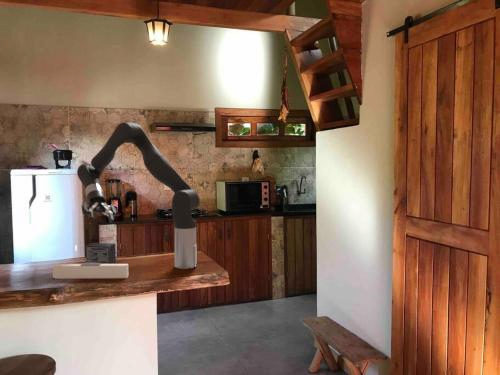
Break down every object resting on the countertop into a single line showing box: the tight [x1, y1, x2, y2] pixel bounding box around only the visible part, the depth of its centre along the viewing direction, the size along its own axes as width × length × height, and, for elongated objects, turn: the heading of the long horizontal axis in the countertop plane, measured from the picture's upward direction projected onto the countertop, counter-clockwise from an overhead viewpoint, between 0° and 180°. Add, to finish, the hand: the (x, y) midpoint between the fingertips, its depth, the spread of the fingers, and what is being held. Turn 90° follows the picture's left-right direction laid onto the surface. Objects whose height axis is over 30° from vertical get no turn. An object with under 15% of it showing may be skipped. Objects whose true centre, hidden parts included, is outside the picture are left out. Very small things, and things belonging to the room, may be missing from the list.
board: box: [52, 262, 130, 280], centre depth 152 cm, size 28×3×5 cm, turn 94°
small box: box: [85, 242, 117, 264], centre depth 165 cm, size 11×6×10 cm, turn 84°
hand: (102, 220), depth 169 cm, fingers open, 8 cm apart
